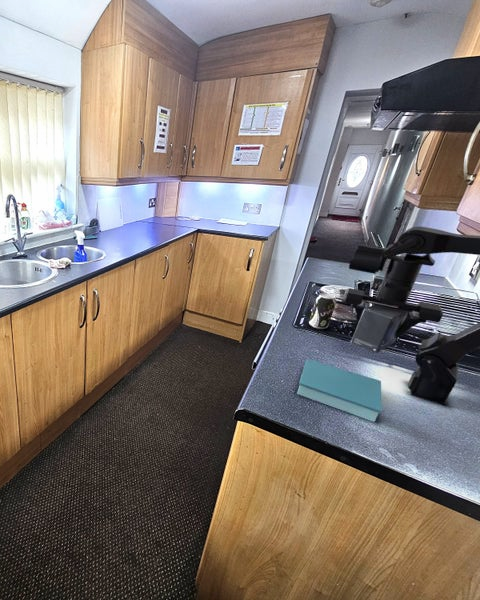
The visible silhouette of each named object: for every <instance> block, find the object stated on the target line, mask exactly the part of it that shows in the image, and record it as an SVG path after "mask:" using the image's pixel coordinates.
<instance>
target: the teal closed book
mask: <svg viewBox="0 0 480 600" xmlns="http://www.w3.org/2000/svg"><path fill="white" fill-rule="evenodd" d="M298 385H299V387H298V389H297V392H296V395H299V396H301V397H305V398H307V399H310V400H313V401H315V402H318V403H321V404H324V405H326V406H329V407H331V408H335V409H338V410H340V411H343V412H345V413H348V414H352V415H354V416H357V417H360V418H362V419H364V420H365V419H366V420H368V421H371V422H374V423H375V422H376V420H377V418H378V415H379V414H382V412H383V404H382V403H383V400H382V380H380V379H377V378H373V377H370V376H366V375H363V374H359V373H357V372H353V371H350V370H347V369H344V368H340V367H336V366H333V365H330V364H326V363H323V362H320V361H316V360H313V359H310V358H306V362H305V364H304V366H303V370H302V373H301V376H300V379H299V383H298Z"/></svg>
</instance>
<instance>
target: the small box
mask: <svg viewBox="0 0 480 600" xmlns="http://www.w3.org/2000/svg"><path fill="white" fill-rule="evenodd" d="M407 314H408V311H404V310H400V309H395V308H390V307H385V306H380V305H375V304H371V305H370V306H368V307H365V309H364V310H363V313H362V316H361V318H360V321H359V323H358V322H357V326H356V329H355V331H354V333H353V335H352V337H351V339H350V343H351V344H353V345H356V346H357V347H360V348H363V349H365V350H367V351H370V352H373V353H375V354H378V353H380V352H381V351H382V350H383V351H384V350H385V349H387V348H388V347H390V346H392V345H393V344H395V342H396V340H397V338H395V336H396V333H397V331H398V329H399V328H400V326H401V324H402V323H403V321H404V320H405V318H406V316H407Z"/></svg>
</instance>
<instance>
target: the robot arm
mask: <svg viewBox="0 0 480 600" xmlns="http://www.w3.org/2000/svg"><path fill="white" fill-rule="evenodd" d="M443 253H444V254H446V253H449V254H450V253H454V254H463V255H464V254H465V255H477V256H480V235H477V234H476V235H475V234H474V235H473V234H459V233H455V232H450V231H445V230H441V229H438V228H437V229H436V228H432V227H427V226H413V227H410V228H408V229H406V230H405V231H404V232H403V233H402V234H401V235H400V236H399V237H398V238H397V240H396V241H395V242H394V243H392V244H391V243H390V244H389V245H388V246H386V248H384V247H379V246H378V247H377V246H371V245H368V244H363V243H360V244H358V245H357V247H356V250H355V252H354V253H353V256H352V257H351V259H350V262H349V265H348V269H349V270H353V271H357V272H362V273H368V274H374V275H376V274H377V273H379V272H383V271H384V270H385V269H386V265H387V264H388V266H387V269H386V272H385V273H384V277H383V278H378V277H374V278H373V279H372V282H371V285H370V287H369V288H370V290H373V291H376V293H375V296H372V295H367V294H365V290H360V289H356V288H350V287H348V288H347V289H345V292H344V295H343V297H342V301H341V303H344V304H347V305H350V308H352V309H354V310H355V311H354V312H355V314H356V320H357V324H358V323H359V321H360V318H361V316H362V313H363V310H364V309H366V304H371V305H380V306H385V307H390V308H395V309H400V310H404V311H408V314H407V316H406V318H405V320H404V321H403V323H402V324H401V326H400V328H399V329H398V331H397V333H396V336H395V338H396V339H398V338H400V337H402V335H403V334H405V333H406V332H407V331H409V330H410V329H412V328H413V327H415V326H416V325H418V324H420V323H422V324H426V323H427V321H428V322H431V323H432V322H433V323H440V322H441V320H442V318H443V316H444V312H443V309H442V307H441V306H440V305H439V304H437V303H431V302H426V301H419V302H418V303H417V304H415V303H414V304H413V303H408V302H407V301H408V299H409V297H410V295H411V293H412V290H413V287H414V285H415V283H416V281H417V278H418V276H419V274H420V271H421V269H422V267H423V266H429V267H433V266H434V265H435V263H436V260H435V259H433V257H432V256H431V255H433V254H443ZM402 254H403V255H402ZM404 254H405V255H404ZM388 260H390V262H389V263H388ZM478 348H480V322H477V323H476V324H473V325H472V326H470V327H468V328H465V329H464V330H462V331H460V332H458V333H454V334H451V335H446V336H444V335H443V334H442V333H441V332H440V331H439V332H437V333H435V334H434V335H432V336H431V337H430V338H426V339H422V340H421V343H420V345H419V346H418V349H417V352H416V355H415V360H414V361H415V363H416V365H417V366H418V369H417V371H413V372H412V374H411V375H410V378H409V380H408V382H407V388H408V390H409V394H410V396H413V397H416V398H419V399H422V400H426V401H428V402H432V403H434V404H435V403H436V404H438V405H440V406H441V405H442V406H446V407H447V406H448V401H447V399H448V398H449V396H450V394H451V393H452V390H454V387H455V385H456V384H457V381H458V374H459V373H458V372H459V365H458V363H459V361H461V360H462V359H463V358H465V356H466V355H468V354H469V353H470V352H471V351H475V350H476V349H478Z"/></svg>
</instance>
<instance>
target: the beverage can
mask: <svg viewBox="0 0 480 600" xmlns="http://www.w3.org/2000/svg"><path fill="white" fill-rule="evenodd" d="M336 306H337V300H336V296H335V295H333V294H330V293H325V292H323V293H319V295H318V296H316V299H315V301H314V304H313V307H312V309H311V310H312V311H311V314H310V318H309V320H308V324H309V325H310V326H311V327H313V328H315V329H319V330H325V329H327V328H328V327H329V326H330V322H331V319H332V318H333V317H332V316H333V313H334V311H335V307H336Z"/></svg>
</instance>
